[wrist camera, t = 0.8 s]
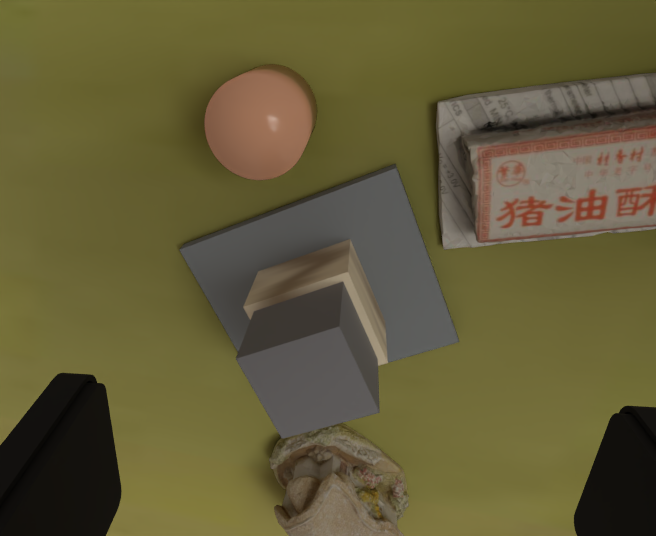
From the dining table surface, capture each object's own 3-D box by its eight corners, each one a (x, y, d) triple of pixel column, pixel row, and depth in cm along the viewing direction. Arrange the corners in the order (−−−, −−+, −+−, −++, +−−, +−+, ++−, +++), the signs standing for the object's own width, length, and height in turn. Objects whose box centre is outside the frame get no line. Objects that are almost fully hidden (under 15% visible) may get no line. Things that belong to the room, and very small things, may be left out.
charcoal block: (343, 281, 31) (339, 326, 27) (377, 358, 33) (379, 412, 29) (253, 311, 32) (235, 358, 28) (292, 384, 35) (282, 438, 30)
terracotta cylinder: (295, 49, 31) (281, 56, 26) (330, 135, 33) (323, 158, 28) (215, 85, 33) (185, 99, 27) (254, 166, 35) (233, 194, 29)
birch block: (350, 239, 35) (347, 271, 31) (385, 321, 38) (387, 362, 34) (258, 271, 37) (243, 307, 32) (297, 348, 40) (289, 391, 35)
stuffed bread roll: (433, 499, 47) (449, 613, 38) (335, 543, 51) (328, 657, 42) (341, 398, 43) (334, 499, 34) (240, 453, 46) (210, 559, 37)
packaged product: (809, 64, 26) (764, 246, 30) (746, 56, 30) (714, 216, 35) (443, 110, 28) (449, 274, 32) (432, 97, 32) (439, 243, 37)
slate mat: (395, 163, 34) (396, 167, 33) (457, 334, 39) (459, 341, 38) (183, 244, 37) (179, 249, 37) (266, 390, 43) (264, 398, 42)
